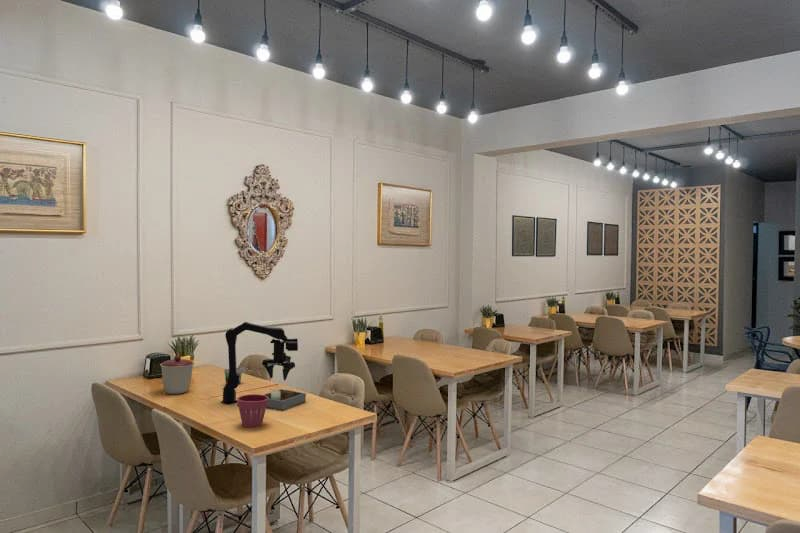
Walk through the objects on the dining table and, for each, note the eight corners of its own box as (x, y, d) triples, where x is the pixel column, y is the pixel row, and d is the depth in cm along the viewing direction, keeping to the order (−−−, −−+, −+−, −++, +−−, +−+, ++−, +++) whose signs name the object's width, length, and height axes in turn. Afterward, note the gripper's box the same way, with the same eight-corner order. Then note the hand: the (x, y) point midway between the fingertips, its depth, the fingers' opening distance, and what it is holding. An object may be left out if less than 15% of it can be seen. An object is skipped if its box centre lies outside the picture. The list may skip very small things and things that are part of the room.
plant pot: (270, 420, 264) (271, 394, 264) (264, 429, 250) (265, 401, 250) (240, 419, 263) (241, 393, 263) (233, 428, 249) (233, 401, 249)
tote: (282, 411, 280) (282, 401, 280) (256, 406, 288) (256, 396, 288) (305, 402, 298) (305, 393, 298) (280, 397, 305) (281, 389, 305)
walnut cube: (293, 400, 298) (294, 391, 298) (288, 402, 294) (288, 393, 294) (286, 398, 301) (286, 390, 301) (280, 401, 296) (281, 391, 296)
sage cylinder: (277, 406, 285) (277, 392, 285) (268, 405, 287) (269, 392, 287) (282, 404, 290) (282, 390, 290) (274, 403, 292) (274, 390, 292)
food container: (229, 387, 327) (230, 370, 327) (223, 385, 331) (224, 369, 331) (246, 383, 337) (247, 367, 337) (240, 382, 341) (241, 366, 341)
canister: (160, 389, 317) (161, 353, 317) (193, 387, 323) (194, 352, 323) (158, 397, 300) (159, 359, 300) (193, 395, 306) (194, 357, 306)
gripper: (301, 350, 302) (300, 378, 302) (275, 347, 310) (274, 374, 310) (288, 353, 292) (288, 382, 292) (261, 350, 300) (261, 378, 300)
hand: (278, 379), depth 299 cm, fingers open, 9 cm apart
